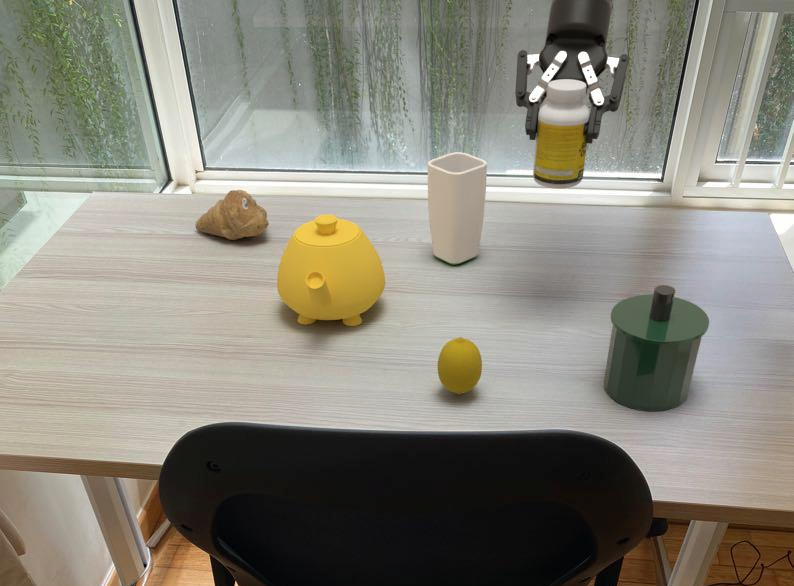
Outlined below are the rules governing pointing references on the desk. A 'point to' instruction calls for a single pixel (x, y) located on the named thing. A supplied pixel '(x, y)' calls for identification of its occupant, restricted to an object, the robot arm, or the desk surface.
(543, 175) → the pill bottle
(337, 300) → the teapot
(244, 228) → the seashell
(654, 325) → the pot lid
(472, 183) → the cup
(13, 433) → the desk surface
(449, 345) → the lemon
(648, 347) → the pot
